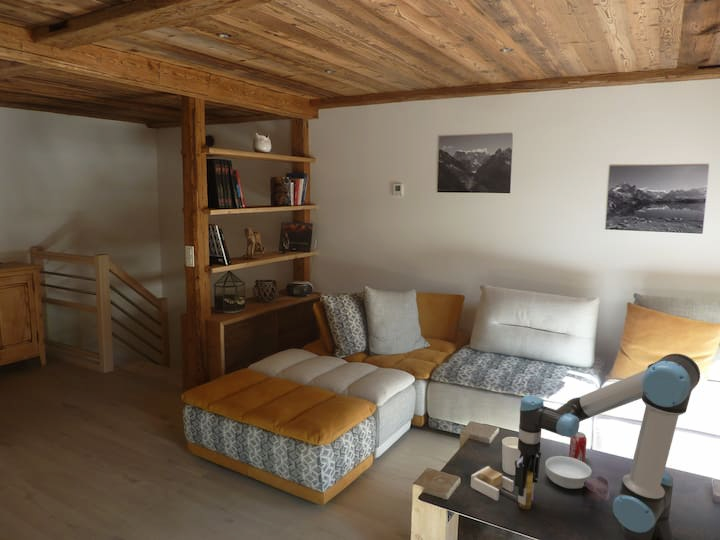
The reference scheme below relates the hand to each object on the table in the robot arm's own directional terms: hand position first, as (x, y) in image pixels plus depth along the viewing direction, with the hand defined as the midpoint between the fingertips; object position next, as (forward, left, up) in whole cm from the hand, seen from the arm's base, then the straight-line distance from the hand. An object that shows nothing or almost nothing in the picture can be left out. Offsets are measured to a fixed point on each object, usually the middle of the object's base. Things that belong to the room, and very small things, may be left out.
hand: (525, 500), depth 194 cm
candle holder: (+17, -18, -2) cm, 25 cm away
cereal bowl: (-2, -26, -2) cm, 26 cm away
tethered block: (+8, 0, -2) cm, 8 cm away
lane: (+14, 0, -2) cm, 14 cm away
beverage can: (+4, -45, -2) cm, 45 cm away
